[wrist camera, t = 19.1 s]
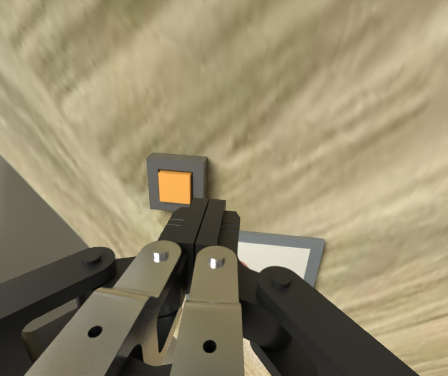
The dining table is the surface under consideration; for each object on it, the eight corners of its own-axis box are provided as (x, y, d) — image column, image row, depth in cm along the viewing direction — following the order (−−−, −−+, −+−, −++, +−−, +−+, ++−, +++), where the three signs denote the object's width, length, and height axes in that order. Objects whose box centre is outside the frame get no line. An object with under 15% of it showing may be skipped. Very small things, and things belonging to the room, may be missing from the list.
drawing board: (323, 238, 41) (325, 244, 39) (305, 310, 47) (306, 317, 46) (187, 225, 42) (185, 230, 41) (187, 297, 49) (186, 303, 47)
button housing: (206, 156, 37) (203, 162, 35) (205, 205, 40) (202, 213, 38) (152, 152, 38) (146, 157, 35) (156, 201, 41) (150, 208, 39)
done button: (192, 170, 37) (189, 175, 35) (192, 198, 39) (189, 204, 37) (162, 168, 37) (158, 172, 35) (164, 195, 39) (159, 201, 37)
